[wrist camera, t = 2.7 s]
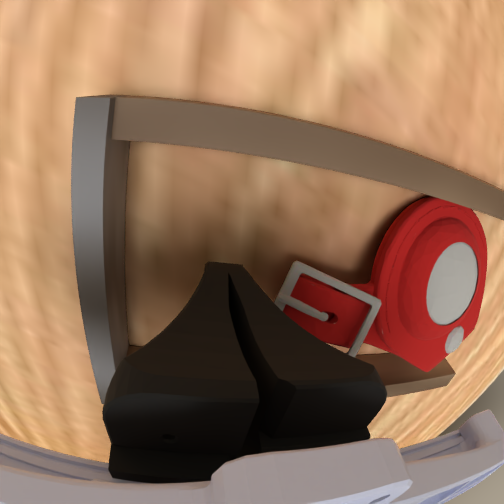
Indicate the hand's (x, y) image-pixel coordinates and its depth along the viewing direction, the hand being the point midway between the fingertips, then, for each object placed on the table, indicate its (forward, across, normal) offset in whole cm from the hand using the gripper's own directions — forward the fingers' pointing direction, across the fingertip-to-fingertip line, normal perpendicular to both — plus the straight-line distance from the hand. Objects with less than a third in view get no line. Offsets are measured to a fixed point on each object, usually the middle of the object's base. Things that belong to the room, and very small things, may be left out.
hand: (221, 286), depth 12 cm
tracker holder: (+2, -8, 0) cm, 9 cm away
